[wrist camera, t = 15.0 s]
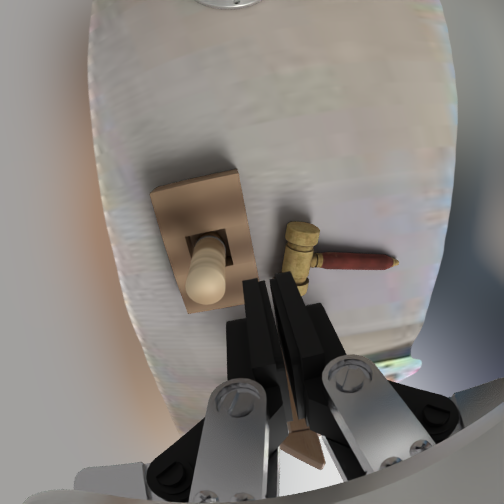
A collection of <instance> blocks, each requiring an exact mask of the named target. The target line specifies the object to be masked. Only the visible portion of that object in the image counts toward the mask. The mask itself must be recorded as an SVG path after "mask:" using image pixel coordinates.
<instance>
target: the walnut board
mask: <svg viewBox="0 0 504 504" xmlns="http://www.w3.org/2000/svg"><path fill="white" fill-rule="evenodd" d="M150 197H151V200H152V204H153V208H154V211H155V215H156V218H157V222H158V225H159V228H160V232H161V235H162V238H163V242H164V245H165V248H166V251H167V254H168V257H169V260H170V263H171V267H172V270H173V273H174V275H175V278H176V281H177V284H178V287H179V290H180V293H181V296H182V298H183V301H184V304H185V307H186V309H187V312H188V314H191V313H197V312H203V311H209V310H214V309H220V308H226V307H231V306H237V305H242V304H244V294H243V285H242V281H243V280H248V279H253V278H258V282H259V277H258V272H257V267H256V262H255V257H254V251H253V246H252V241H251V236H250V231H249V225H248V220H247V215H246V210H245V205H244V199H243V194H242V189H241V184H240V179H239V173H238V170H237V169H234V170H229V171H224V172H219V173H214V174H210V175H205V176H201V177H196V178H192V179H188V180H183V181H179V182H175V183H171V184H167V185H163V186H159V187H157V188H156V189H154V190H153V191H152V192H151V193H150ZM210 231H214V232H216V233H218V234H219V235H220V236H221V237H222V238H223V240H224V242H225V247H226V255H225V293H224V295H223V297H222V298H221V299H220V300H219V301H218V302H216V303H213V304H208V305H204V304H199V303H197V302H195V301H193V300H192V299H191V298H190V297H189V296H188V294H187V292H186V288H185V286H186V281H187V276H188V272H189V268H190V264H191V259H192V255H193V250H194V245H195V243H196V240H197V239H198V237H199V236H200V235H202V234H203V233H205V232H210Z"/></svg>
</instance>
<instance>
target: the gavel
mask: <svg viewBox="0 0 504 504" xmlns="http://www.w3.org/2000/svg"><path fill="white" fill-rule="evenodd" d="M319 233H320V230H319V228H318V227H316V226H315V225H313V224H310V223H306V222H296V221H294V222H290V223H288V224H287V228H286V234H285V238H286V240H288V243H287V244H286V248H285V254H284V259H283V265H282V272H281V273H283V272H288V271H291V273H292V276H293V278H294V280H295V283H296V285H297V287H298V290H299V292H300V294H301V296H303V295H305V294H306V292H307V288H308V283H309V279H308V278H307V276H308V274H309V270H310V267H312V268H314V267H320V268H324V269H353V270H386V269H388V268H390V267H393V266H394V265H398V264H399V261H398V260H395V259H394V258H391V257H389V256H387V255H384V254H363V253H341V252H324V253H313V251H314V248H313V246H314V245H316V244H317V243H318V238H319Z"/></svg>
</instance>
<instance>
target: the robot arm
mask: <svg viewBox="0 0 504 504" xmlns="http://www.w3.org/2000/svg"><path fill="white" fill-rule="evenodd" d="M195 1H197V2H198V3H201V4H203V5H205V6H208V7H212V8H217V9H240V8H244V7H249V6H251V5H254V4H257V3H258V2H260V1H262V0H195ZM235 3H238V4H235ZM242 285H243V294H244V304H245V313H246V318H244V319H238V320H232V321H227V322H226V339H227V378H228V381H226V382H223V383H222V384H220V385H219V386H218V387H216V389H215V390H214V391H213V392H212V393H211V396H210V398H209V402H208V406H207V411H206V416H205V418H203V419H202V420H201V421H200V422H199V423H198V424H197V425H195V426H194V427H193V428H192V429H191V430H190V431H188V432H187V433H186V434H185V435H184V436H182V437H181V438H180V439H179V440H178V441H176V442H175V443H174V444H173V445H172V446H170V447H169V448H168V449H167V450H165V451H164V452H163V453H162V454H160V455H159V456H158V457H157V458H155V459H154V460H153V462H151V463H149V464H143V463H142V462H137V463H130V464H122V465H113V466H100V467H88V468H84V469H82V470H81V471H80V472H78V474H77V475H76V477H75V481H74V490H64V489H62V490H49V491H44V492H40V493H37V494H34V495H32V496H30V497H28V498H27V499H26V500H25V501H24V503H23V504H504V378H499V379H496V380H493V381H490V382H488V383H485V384H482V385H479V386H476V387H473V388H470V389H467V390H463V391H460V392H456V393H454V394H453V396H452V397H449V398H447V397H445V396H442V395H439V394H435V393H431V392H428V391H424V390H420V389H416V388H413V387H409V386H406V385H402V384H399V383H396V382H392V381H389V380H387V379H386V378H385V377H384V375H383V374H382V373H381V372H380V370H379V369H378V368H377V367H376V365H375V364H374V363H373V362H372V361H371V360H369V359H367V358H365V357H363V356H359V355H346V353H345V350H344V348H343V346H342V344H341V342H340V340H339V338H338V336H337V334H336V332H335V330H334V328H333V326H332V324H331V322H330V320H329V318H328V316H327V314H326V312H325V310H324V308H323V306H322V304H321V303H316V304H312V305H307V306H305V304H304V302H303V299H302V297H301V294H300V292H299V290H298V287H297V285H296V283H295V280H294V278H293V276H292V273H291V271H288V272H283V273H278V274H275V279H270V286H271V292H272V298H273V304H274V310H275V316H276V322H277V328H278V333H277V329H276V325H275V321H274V317H273V313H272V309H271V305H270V300H269V296H268V292H267V288H266V284H265V281H260V282H258V278H253V279H248V280H243V281H242ZM278 335H279V337H278ZM279 340H280V342H279ZM280 345H281V346H280ZM281 349H282V350H281ZM282 353H283V354H282ZM283 357H284V359H283ZM284 362H285V364H284ZM285 366H286V369H285ZM286 370H287V374H288V378H289V382H290V387H291V391H292V395H293V399H294V403H295V407H296V412H297V416H298V419H304V418H305V421H306V425H307V427H308V426H309V427H310V430H311V431H314V432H316V433H318V434H320V435H321V436H322V439H323V441H324V443H325V445H326V447H327V449H328V451H329V453H330V455H331V457H332V459H333V461H334V463H335V465H336V467H337V469H338V471H339V473H340V475H341V477H342V479H343V481H344V482H343V483H340V484H336V485H332V486H329V487H325V488H321V489H317V490H312V491H308V492H303V493H298V494H293V495H287V496H281V497H279V478H280V476H279V475H280V444H281V443H282V442H283V441H284V440H285V439H286V437H287V436H288V435H289V432H288V427H287V422H290V421H293V416H292V409H291V402H290V396H289V389H288V382H287V376H286Z"/></svg>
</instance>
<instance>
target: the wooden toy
mask: <svg viewBox="0 0 504 504" xmlns="http://www.w3.org/2000/svg"><path fill="white" fill-rule="evenodd" d="M281 350H282V349H281ZM282 354H283V353H282ZM283 359H284V357H283ZM284 364H285V362H284ZM285 369H286V366H285ZM286 376H287V382H288V389H289V396H290V402H291V409H292V416H293V421H290V422H287V426H288V431H289V435H288V436H287V437H286V439H285V440H284V441H283V442H282V443H281V444H280V449H281V450H283V451H285V452H286V453H288V454H290V455H292V456H294V457H296V458H297V459H299V460H301V461H303V462H305V463H307V464H309V465H311V466H313V467H315V468H317V469H320V470H322V469H323V467H324V465H325V459H324V455H323V451H322V448H321V444H320V440H319V437H318V436H321V435H320V434H318V433H316V432H314V431H311V430H310V427H309V426H308V427H307V425H306V421H305V418H304V419H298V416H297V412H296V407H295V403H294V399H293V395H292V391H291V387H290V382H289V378H288V374H287V370H286Z"/></svg>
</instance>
